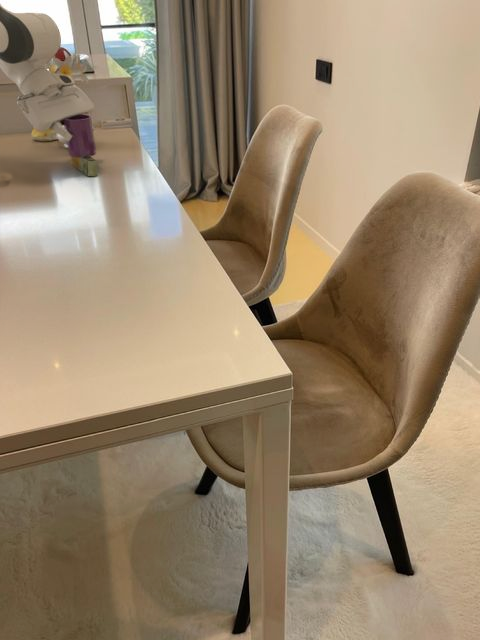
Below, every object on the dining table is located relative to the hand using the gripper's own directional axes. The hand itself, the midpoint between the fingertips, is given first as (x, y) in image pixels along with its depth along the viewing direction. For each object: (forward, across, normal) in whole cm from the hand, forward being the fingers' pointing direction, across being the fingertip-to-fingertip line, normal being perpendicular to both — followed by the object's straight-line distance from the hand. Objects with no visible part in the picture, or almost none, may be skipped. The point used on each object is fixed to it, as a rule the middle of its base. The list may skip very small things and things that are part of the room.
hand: (81, 135), depth 142 cm
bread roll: (-17, +23, +30) cm, 42 cm away
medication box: (+6, 0, +7) cm, 9 cm away
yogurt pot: (+3, 0, +4) cm, 5 cm away
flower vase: (-7, +18, +20) cm, 28 cm away
